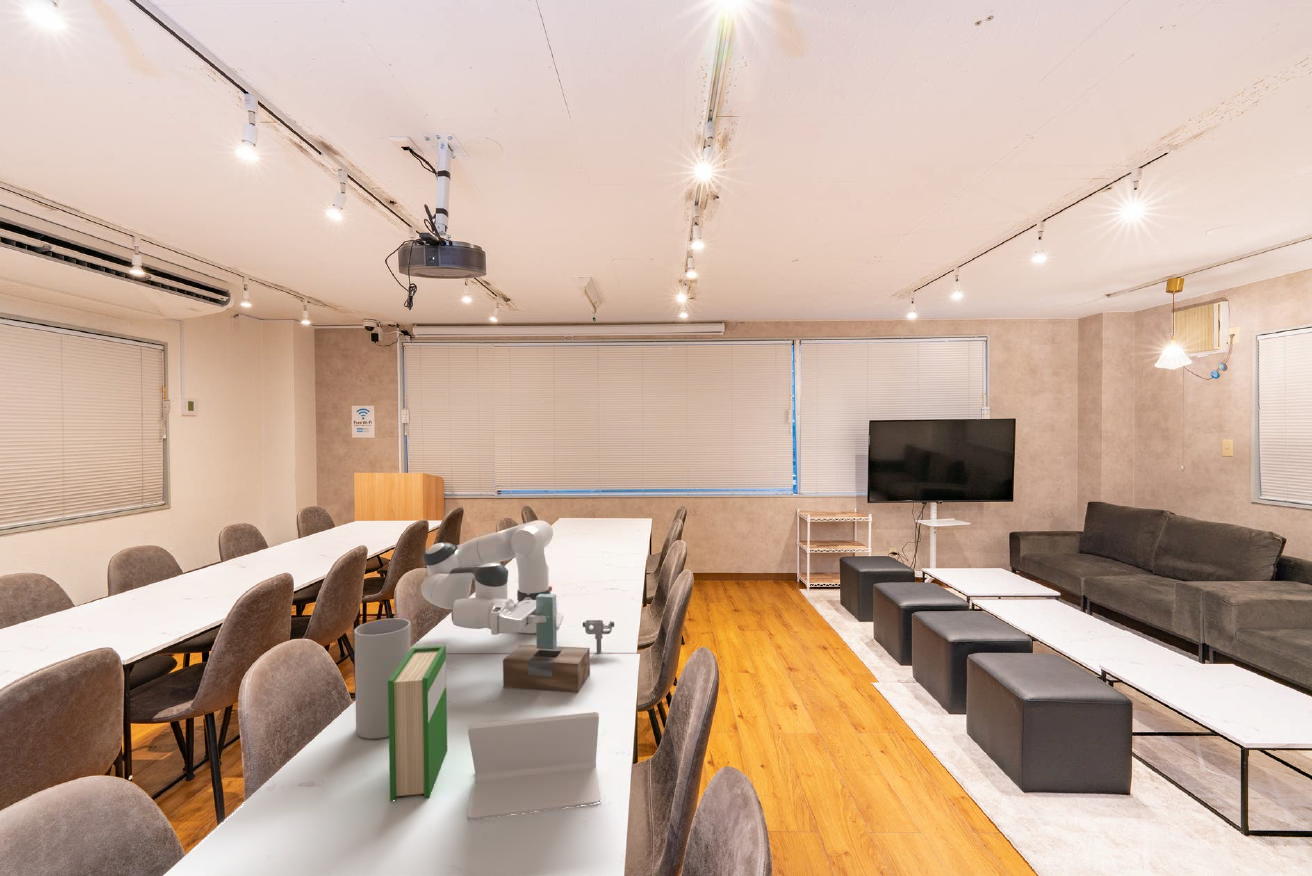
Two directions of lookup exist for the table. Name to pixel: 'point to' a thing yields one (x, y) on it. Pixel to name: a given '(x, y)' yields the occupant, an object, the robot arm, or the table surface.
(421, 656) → the hardback book
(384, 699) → the cylinder vase
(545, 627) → the tall rectangular metal block
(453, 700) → the table surface
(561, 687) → the brown boxy piece
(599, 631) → the mechanical component
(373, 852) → the table surface
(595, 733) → the tablet stand
